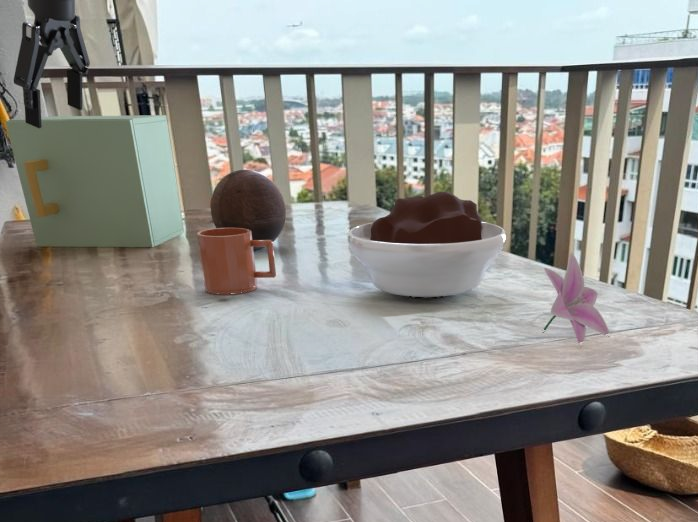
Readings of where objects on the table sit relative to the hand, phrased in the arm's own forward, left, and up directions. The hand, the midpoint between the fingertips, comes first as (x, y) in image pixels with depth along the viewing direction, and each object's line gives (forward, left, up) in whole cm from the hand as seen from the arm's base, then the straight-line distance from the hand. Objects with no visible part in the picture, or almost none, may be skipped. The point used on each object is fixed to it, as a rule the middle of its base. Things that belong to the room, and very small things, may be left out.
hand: (55, 116), depth 144 cm
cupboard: (+1, +15, -25) cm, 29 cm away
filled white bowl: (+71, -38, -25) cm, 85 cm away
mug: (+40, -34, -25) cm, 58 cm away
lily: (+90, -64, -25) cm, 114 cm away
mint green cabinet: (0, +2, -25) cm, 25 cm away
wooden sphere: (+35, +1, -25) cm, 43 cm away
